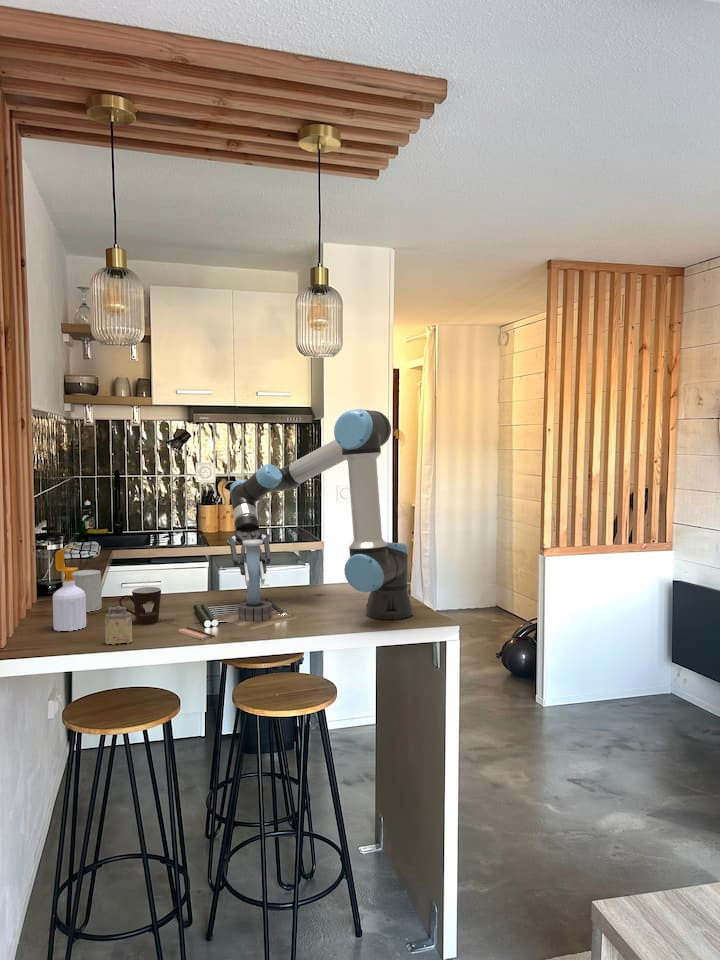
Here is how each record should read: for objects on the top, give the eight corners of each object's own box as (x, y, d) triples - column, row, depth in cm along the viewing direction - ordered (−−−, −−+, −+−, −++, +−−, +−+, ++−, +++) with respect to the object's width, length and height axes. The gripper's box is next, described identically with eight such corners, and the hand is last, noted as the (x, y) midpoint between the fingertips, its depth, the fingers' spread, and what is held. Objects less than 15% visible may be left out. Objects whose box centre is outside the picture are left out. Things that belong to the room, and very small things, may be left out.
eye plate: (299, 622, 215) (299, 604, 215) (252, 634, 202) (252, 615, 201) (257, 611, 228) (257, 594, 228) (211, 622, 215) (211, 604, 215)
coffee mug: (165, 618, 220) (164, 586, 219) (156, 625, 211) (156, 593, 211) (128, 618, 220) (127, 586, 220) (118, 625, 212) (117, 592, 211)
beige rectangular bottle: (133, 640, 196) (132, 605, 196) (131, 644, 193) (130, 608, 192) (106, 641, 195) (105, 606, 194) (104, 645, 191) (103, 609, 191)
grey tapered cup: (78, 605, 237) (77, 569, 236) (106, 606, 236) (105, 569, 236) (65, 613, 227) (64, 575, 226) (94, 613, 227) (93, 575, 226)
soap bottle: (76, 632, 204) (74, 548, 203) (47, 631, 205) (44, 548, 204) (92, 624, 213) (89, 543, 212) (63, 623, 214) (61, 543, 213)
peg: (267, 602, 215) (266, 540, 214) (252, 606, 211) (251, 543, 210) (255, 600, 219) (254, 538, 218) (239, 603, 215) (238, 541, 214)
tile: (237, 631, 205) (237, 628, 205) (202, 640, 196) (202, 637, 196) (212, 624, 213) (212, 621, 213) (178, 632, 204) (178, 629, 204)
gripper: (271, 527, 231) (281, 587, 216) (218, 530, 226) (225, 591, 211) (273, 512, 226) (284, 573, 211) (220, 515, 220) (227, 577, 206)
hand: (255, 582), depth 211 cm, fingers closed on peg, 4 cm apart
